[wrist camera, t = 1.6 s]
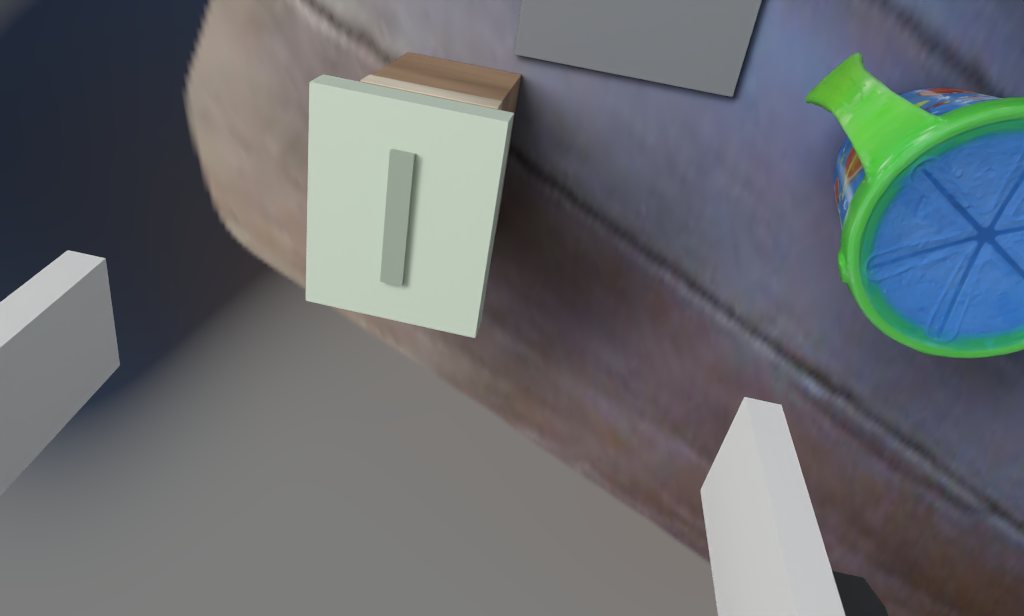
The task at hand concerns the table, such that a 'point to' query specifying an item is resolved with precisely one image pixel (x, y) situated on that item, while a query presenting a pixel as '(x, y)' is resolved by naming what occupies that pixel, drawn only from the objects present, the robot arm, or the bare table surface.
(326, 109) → the lid
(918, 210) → the snack cup
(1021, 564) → the table surface
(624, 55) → the mat
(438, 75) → the walnut box
